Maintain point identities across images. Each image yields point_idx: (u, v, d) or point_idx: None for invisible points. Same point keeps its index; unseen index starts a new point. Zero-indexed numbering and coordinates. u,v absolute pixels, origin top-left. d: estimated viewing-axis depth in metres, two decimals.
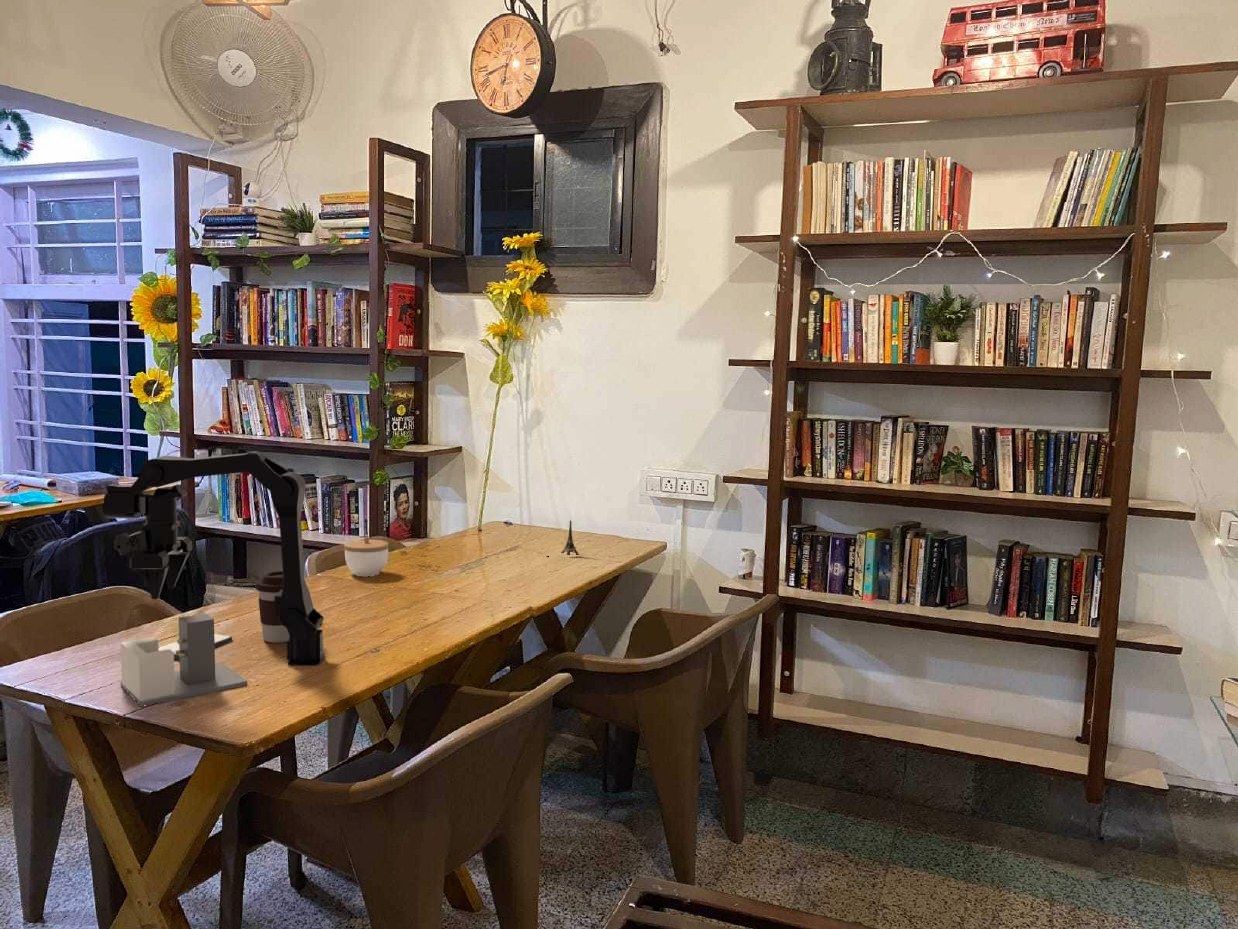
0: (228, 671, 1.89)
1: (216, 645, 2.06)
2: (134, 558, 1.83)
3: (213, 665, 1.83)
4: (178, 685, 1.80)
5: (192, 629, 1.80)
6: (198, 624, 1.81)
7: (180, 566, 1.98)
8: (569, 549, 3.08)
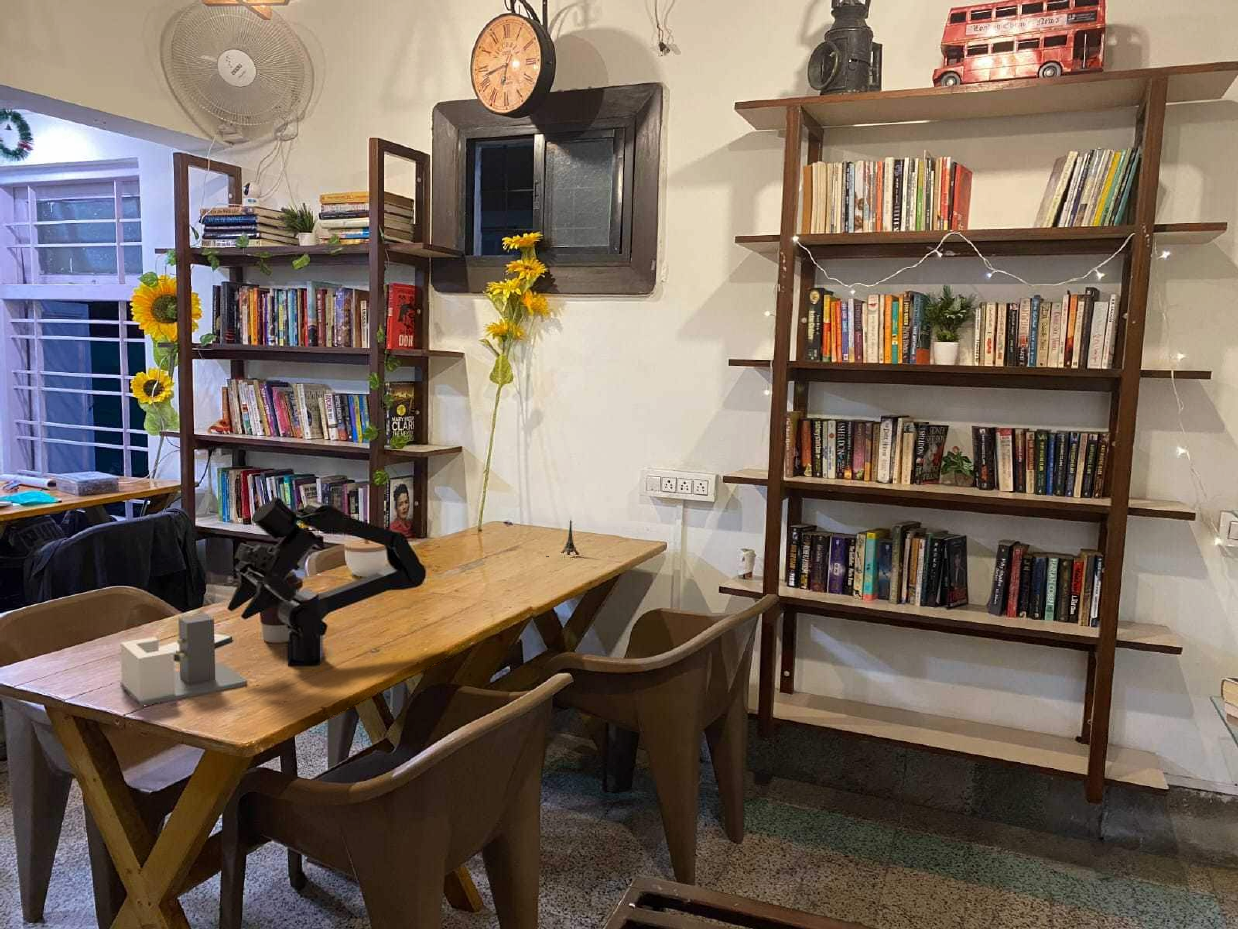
0: (228, 671, 1.89)
1: (216, 645, 2.06)
2: (279, 580, 1.83)
3: (213, 665, 1.83)
4: (178, 685, 1.80)
5: (192, 629, 1.80)
6: (198, 624, 1.81)
7: (250, 596, 1.94)
8: (569, 549, 3.09)
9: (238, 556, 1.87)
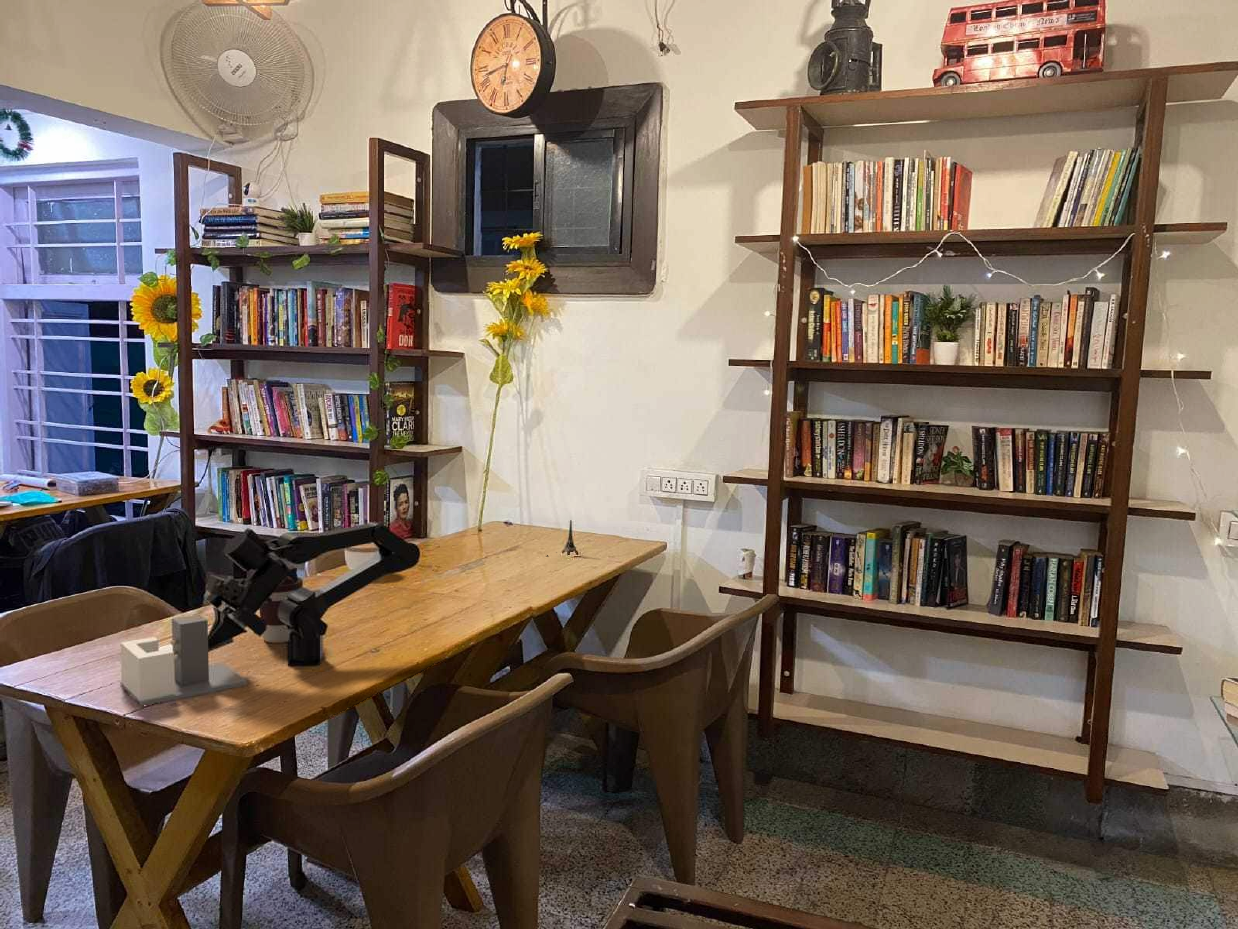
0: (228, 671, 1.89)
1: (217, 645, 2.06)
2: (249, 614, 1.80)
3: (207, 666, 1.83)
4: (178, 685, 1.80)
5: (185, 631, 1.79)
6: (191, 625, 1.80)
7: None
8: (569, 549, 3.09)
9: (208, 589, 1.84)
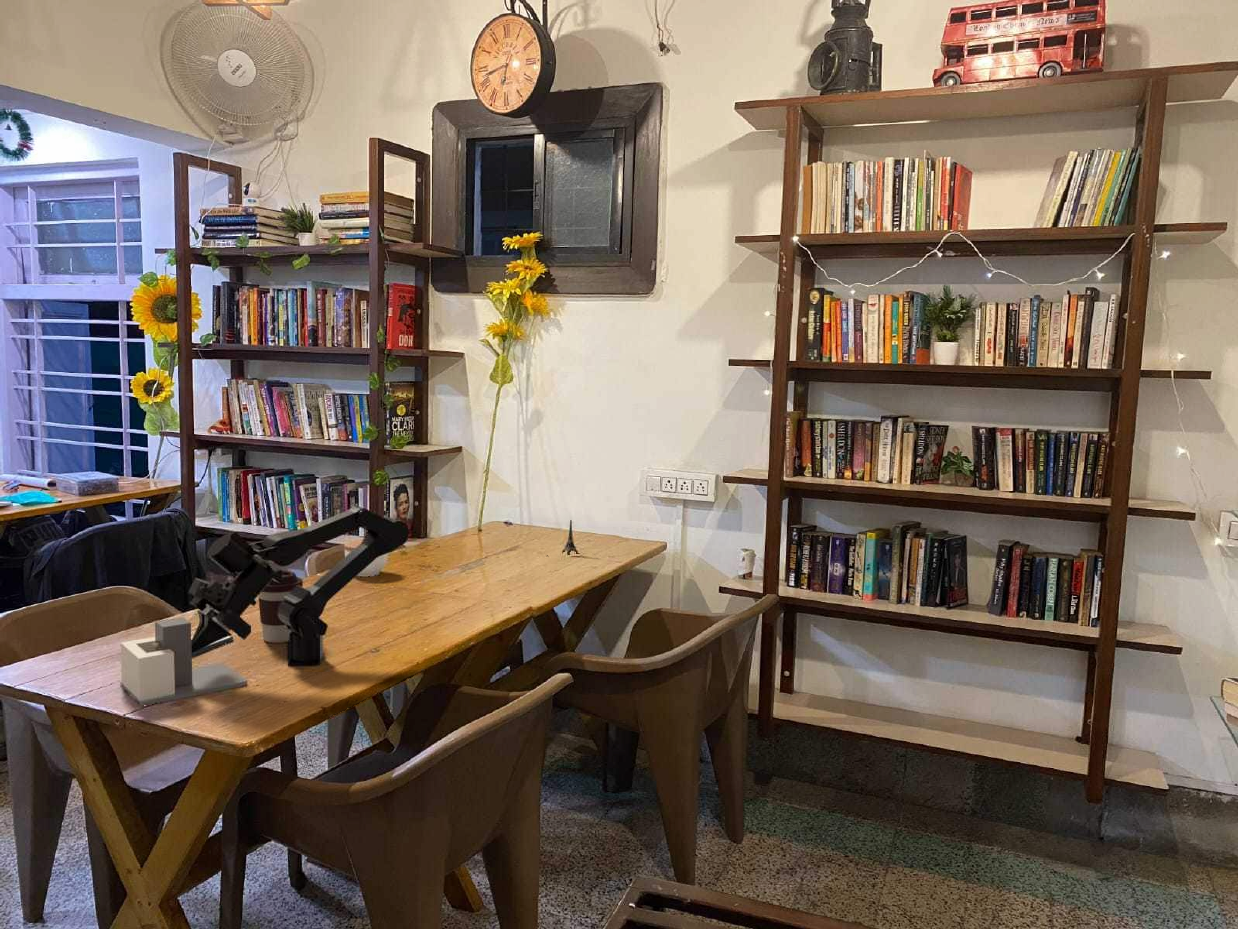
0: (228, 671, 1.89)
1: (217, 645, 2.06)
2: (233, 617, 1.78)
3: (190, 669, 1.81)
4: None
5: (168, 633, 1.77)
6: (174, 628, 1.78)
7: None
8: (569, 548, 3.10)
9: (192, 592, 1.82)
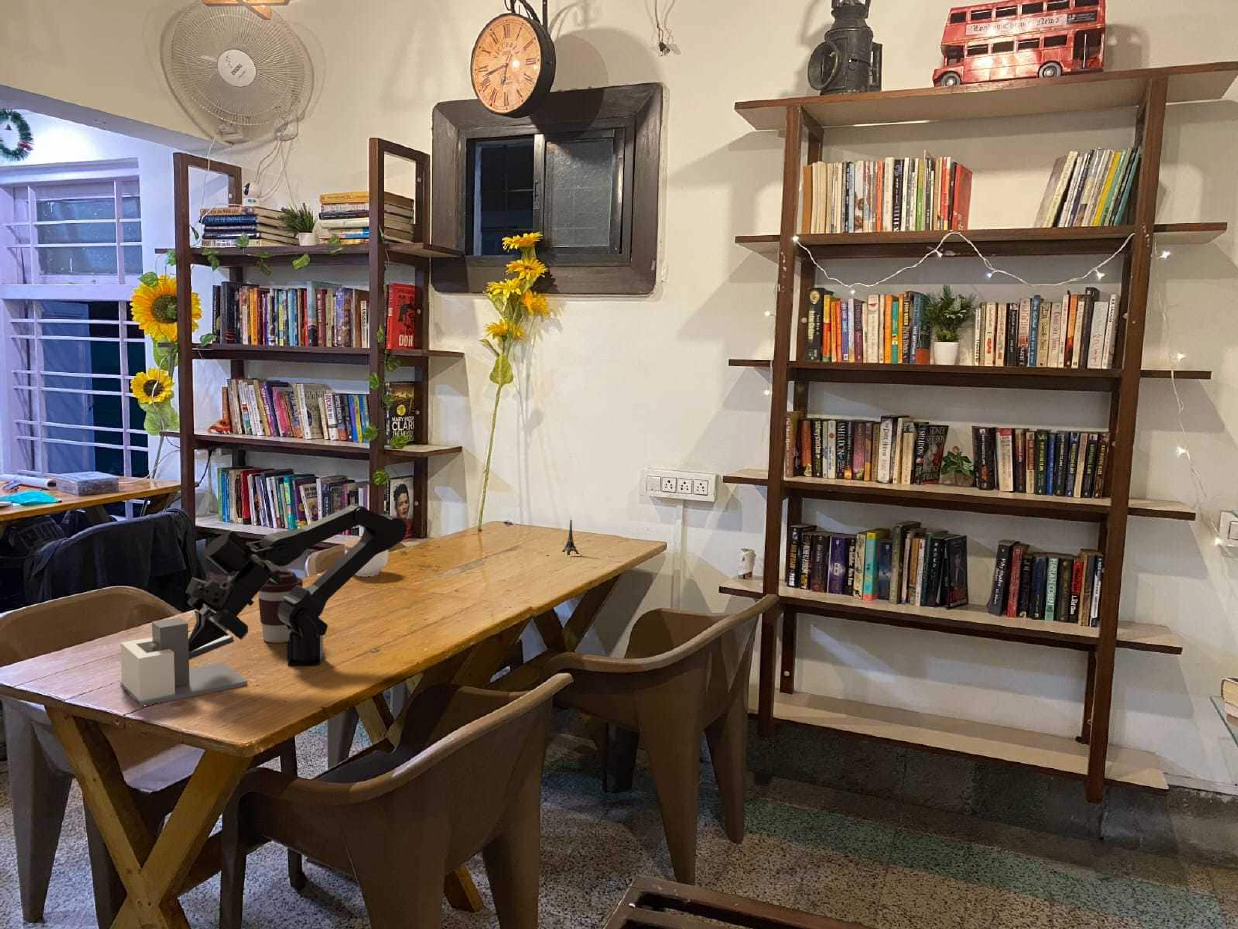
0: (228, 671, 1.89)
1: (217, 645, 2.07)
2: (230, 617, 1.78)
3: (187, 670, 1.80)
4: None
5: (165, 634, 1.77)
6: (172, 628, 1.77)
7: None
8: (569, 548, 3.10)
9: (189, 591, 1.81)
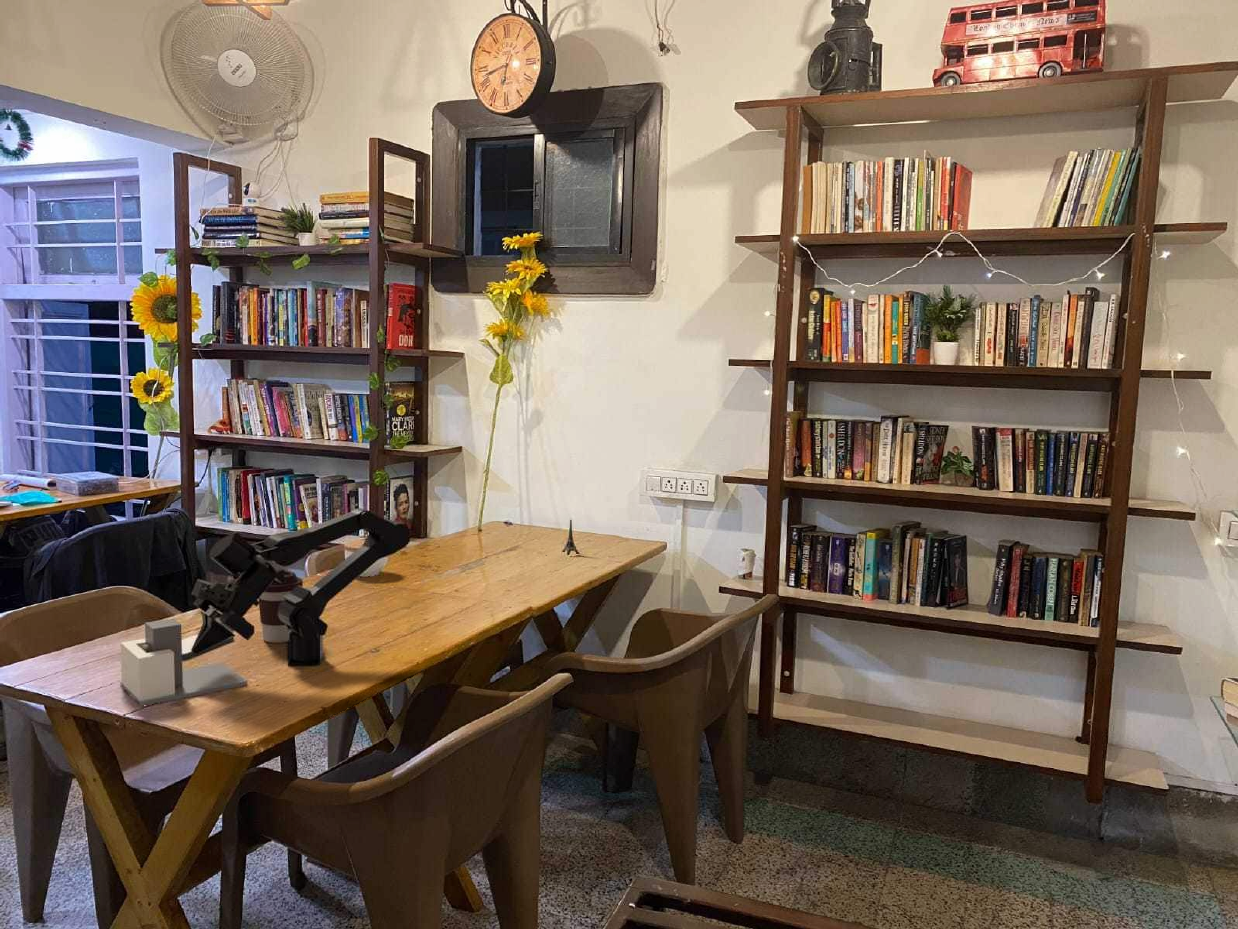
0: (228, 671, 1.89)
1: (217, 645, 2.07)
2: (236, 618, 1.79)
3: (180, 671, 1.79)
4: None
5: (158, 635, 1.76)
6: (165, 629, 1.77)
7: None
8: (569, 548, 3.10)
9: (195, 593, 1.82)
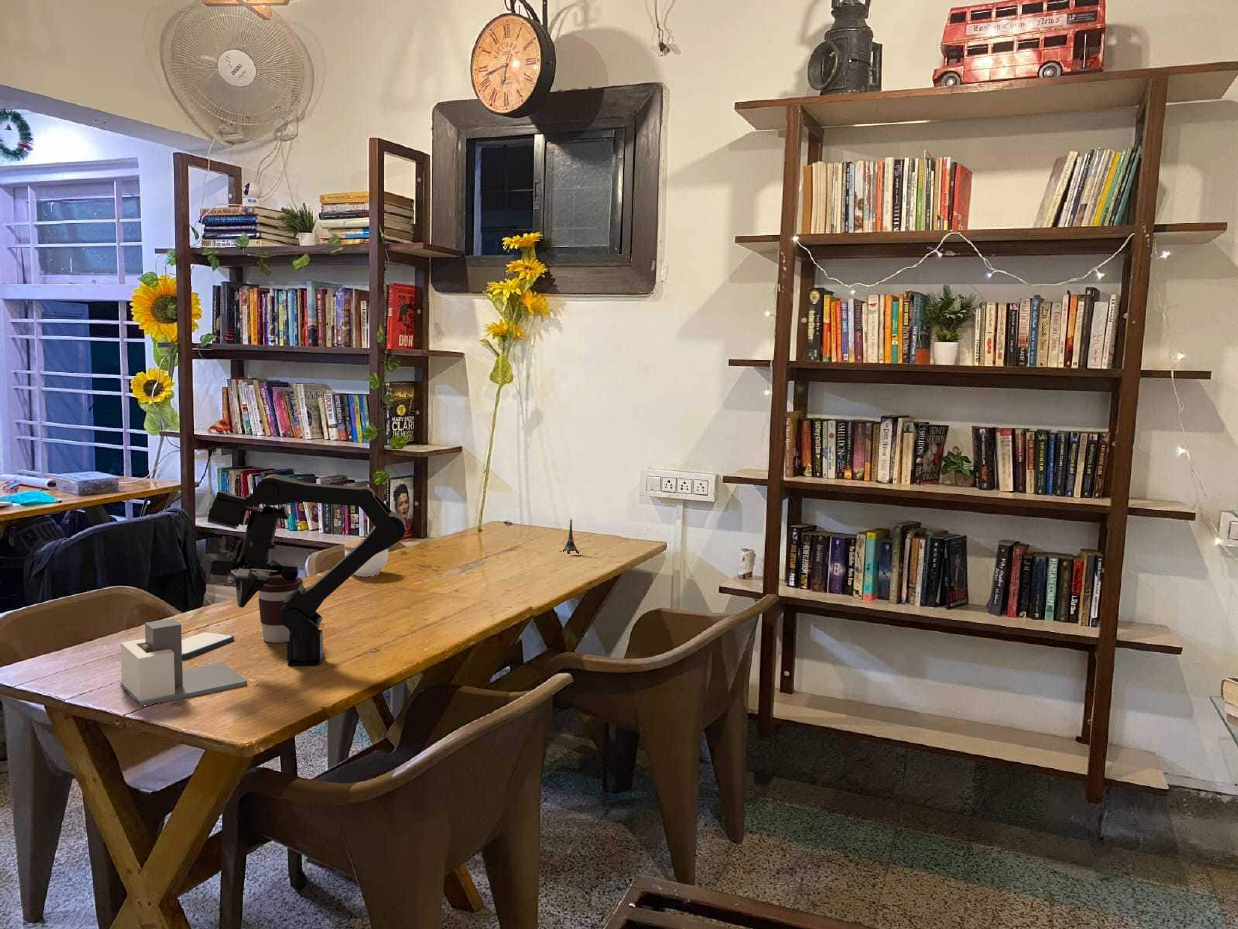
0: (228, 671, 1.89)
1: (218, 645, 2.07)
2: (203, 557, 1.89)
3: (180, 671, 1.79)
4: None
5: (158, 635, 1.76)
6: (165, 629, 1.77)
7: (252, 588, 1.94)
8: (569, 548, 3.11)
9: None
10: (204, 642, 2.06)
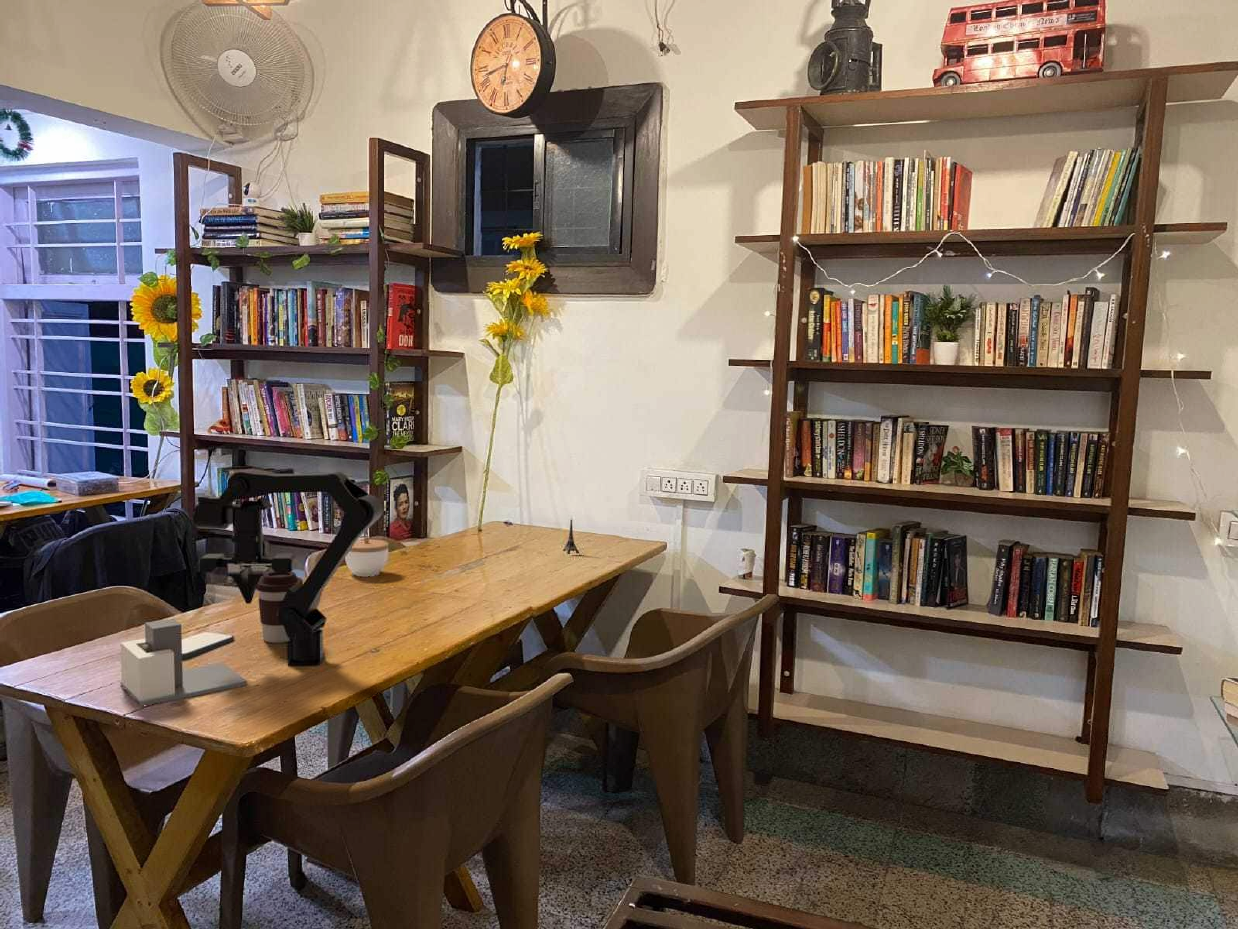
0: (228, 671, 1.89)
1: (218, 644, 2.07)
2: None
3: (180, 671, 1.79)
4: None
5: (158, 635, 1.76)
6: (165, 629, 1.77)
7: None
8: (569, 547, 3.11)
9: None
10: (204, 641, 2.07)
